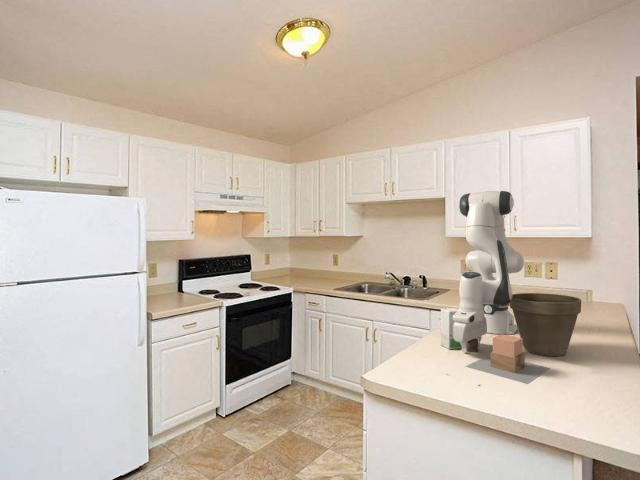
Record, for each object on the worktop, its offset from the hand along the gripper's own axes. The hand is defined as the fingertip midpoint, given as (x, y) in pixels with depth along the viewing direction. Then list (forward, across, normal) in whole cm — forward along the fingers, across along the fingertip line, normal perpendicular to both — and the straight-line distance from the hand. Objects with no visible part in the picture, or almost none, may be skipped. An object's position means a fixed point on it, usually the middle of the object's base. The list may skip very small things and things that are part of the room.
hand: (471, 349), depth 145 cm
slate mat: (+2, +8, +17) cm, 19 cm away
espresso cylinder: (+2, 0, 0) cm, 2 cm away
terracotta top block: (-5, +8, +17) cm, 19 cm away
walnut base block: (0, +8, +17) cm, 19 cm away
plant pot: (+2, -26, +17) cm, 31 cm away
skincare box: (+2, -4, -10) cm, 11 cm away
